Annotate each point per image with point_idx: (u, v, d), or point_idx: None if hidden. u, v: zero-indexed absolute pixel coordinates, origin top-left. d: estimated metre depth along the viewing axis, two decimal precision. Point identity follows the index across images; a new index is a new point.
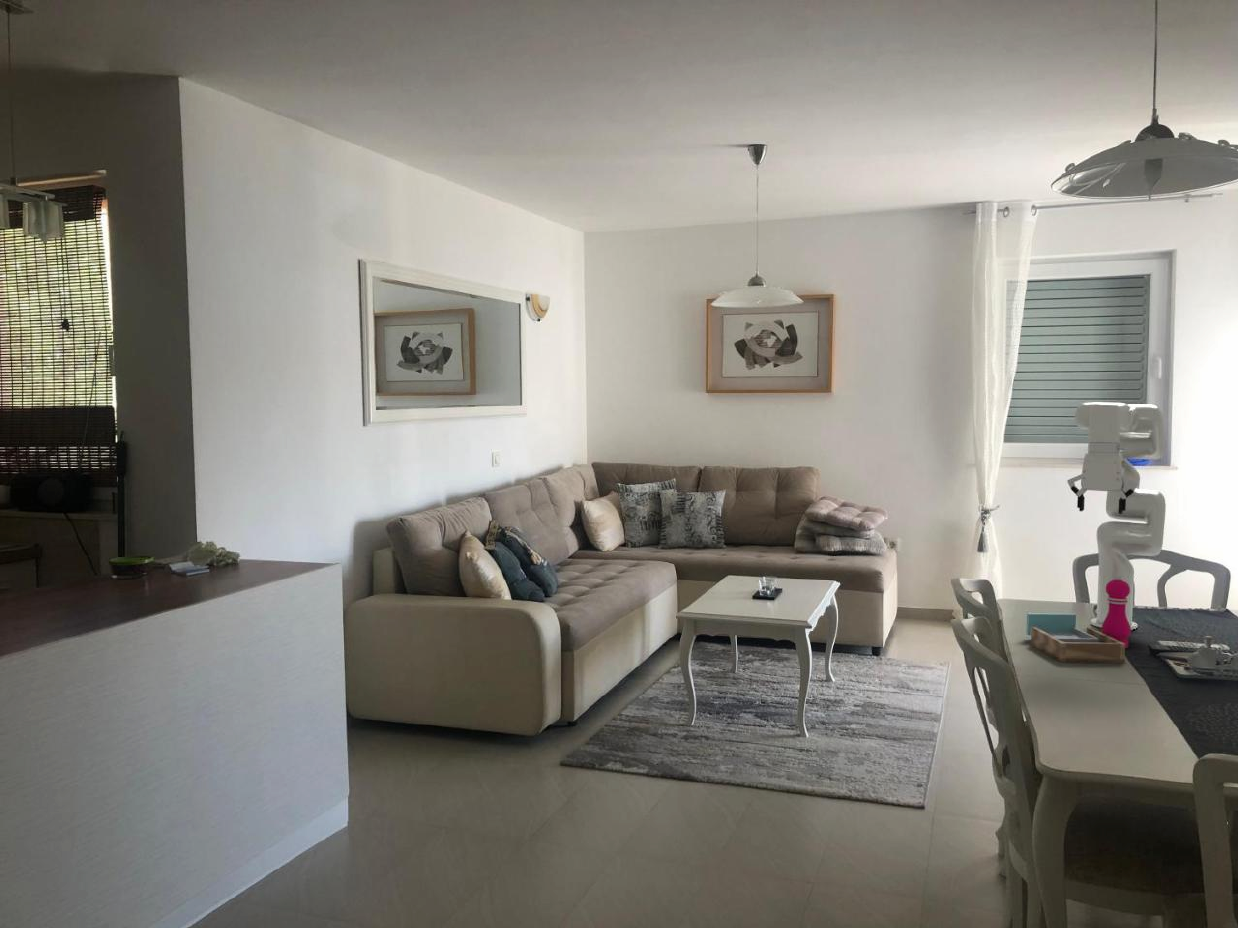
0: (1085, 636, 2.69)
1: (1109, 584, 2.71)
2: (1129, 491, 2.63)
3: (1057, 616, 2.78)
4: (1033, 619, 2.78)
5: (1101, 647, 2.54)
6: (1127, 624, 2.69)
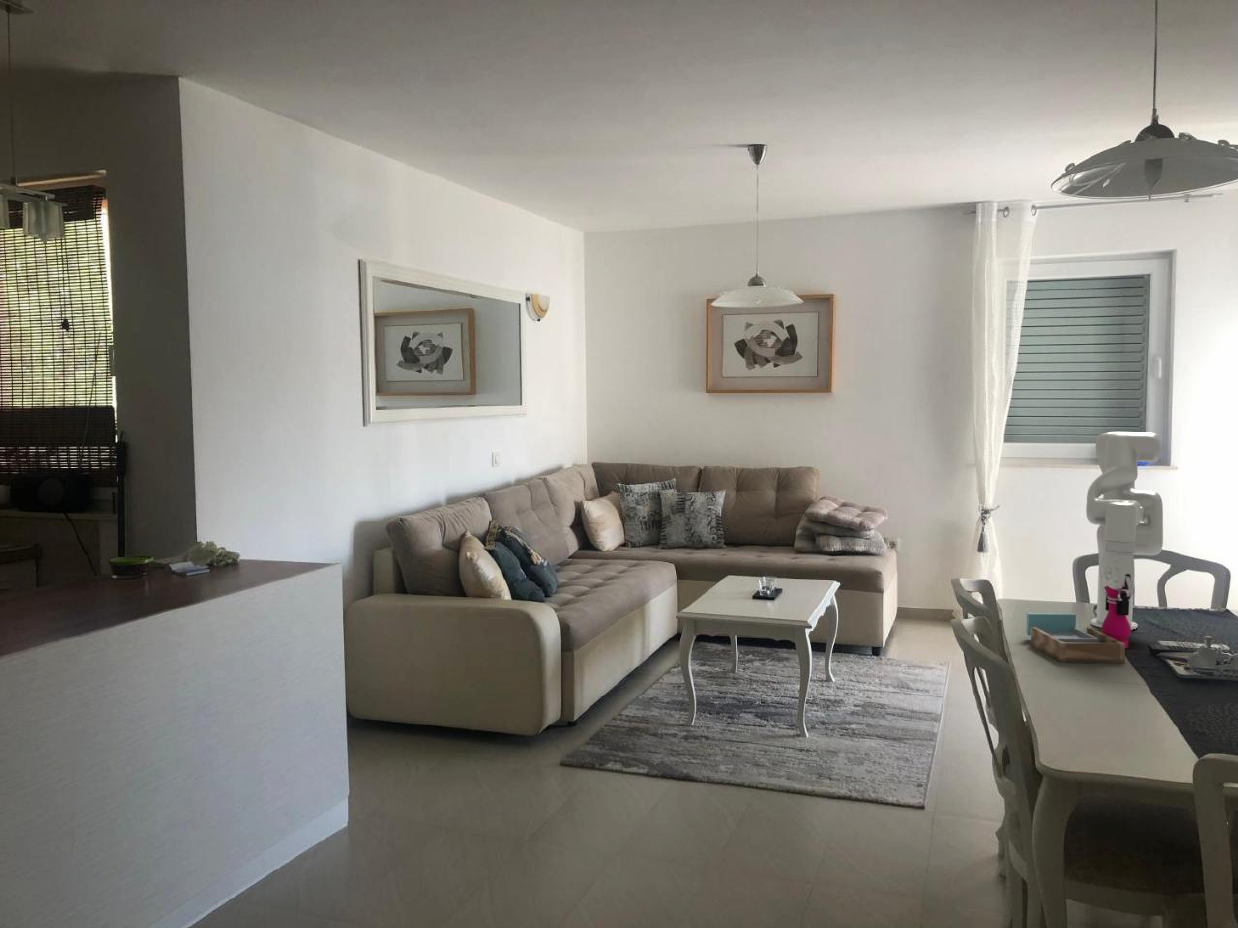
0: (1085, 636, 2.69)
1: None
2: None
3: (1057, 616, 2.78)
4: (1033, 619, 2.78)
5: (1101, 647, 2.54)
6: (1127, 624, 2.69)
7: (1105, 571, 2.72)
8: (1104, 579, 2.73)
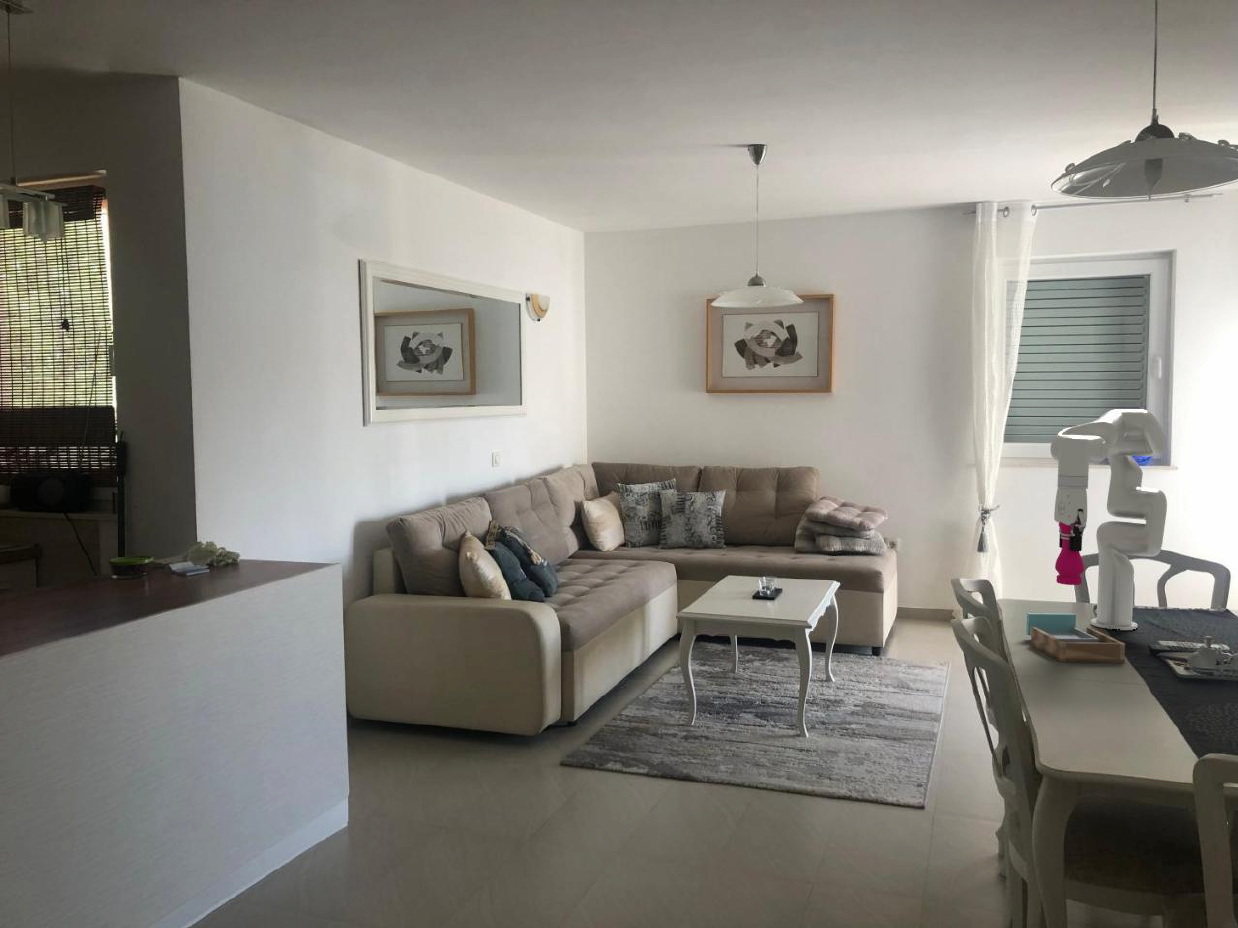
0: (1085, 636, 2.69)
1: None
2: None
3: (1057, 616, 2.78)
4: (1033, 619, 2.78)
5: (1101, 647, 2.54)
6: (1080, 560, 2.65)
7: (1058, 507, 2.68)
8: (1057, 515, 2.69)
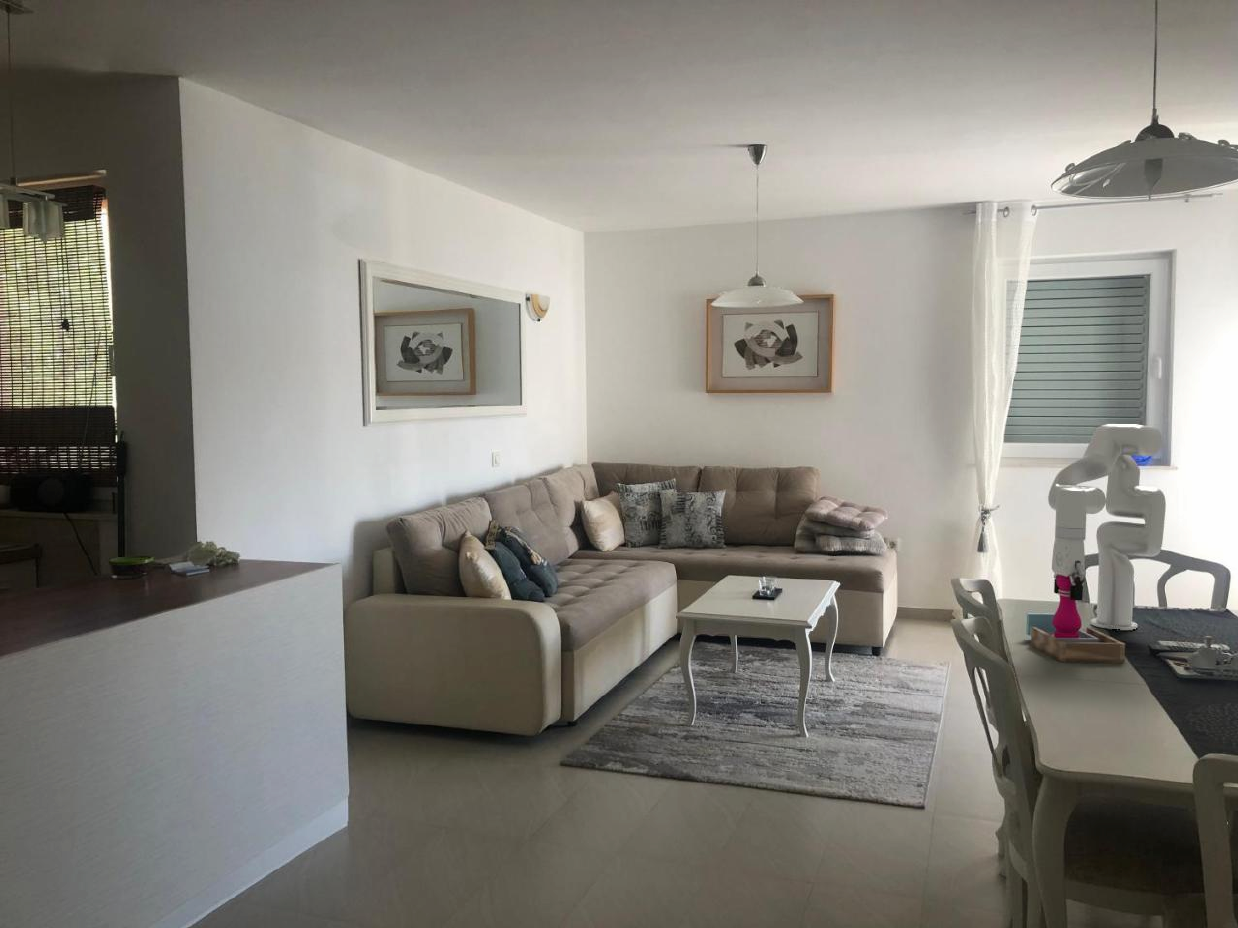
0: (1085, 636, 2.69)
1: (1059, 576, 2.68)
2: None
3: None
4: (1033, 619, 2.78)
5: (1101, 647, 2.54)
6: (1077, 617, 2.66)
7: (1056, 558, 2.69)
8: (1055, 566, 2.70)
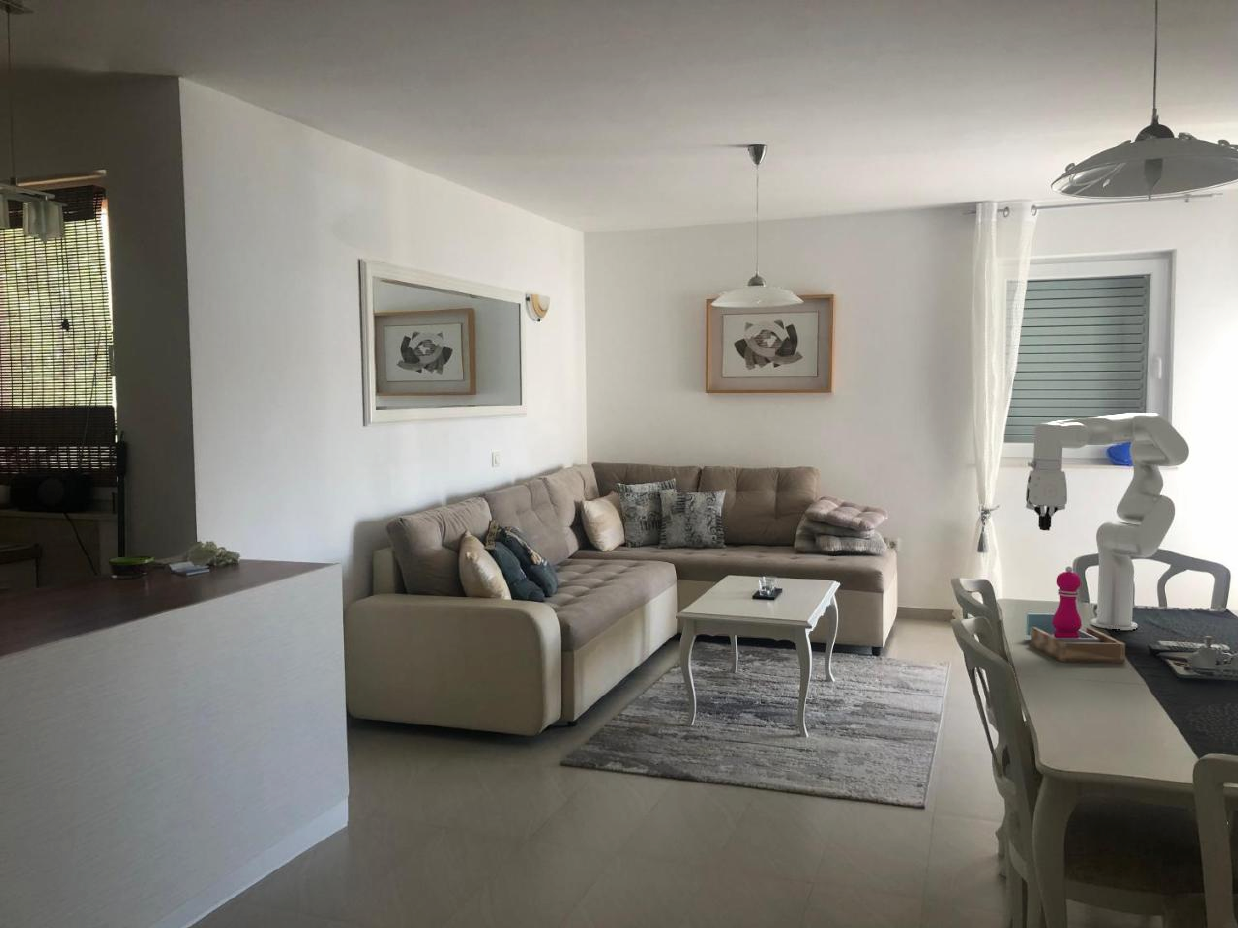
0: (1085, 636, 2.69)
1: (1059, 576, 2.68)
2: None
3: None
4: (1033, 619, 2.78)
5: (1101, 647, 2.54)
6: (1077, 617, 2.66)
7: (1044, 491, 2.80)
8: (1043, 499, 2.80)
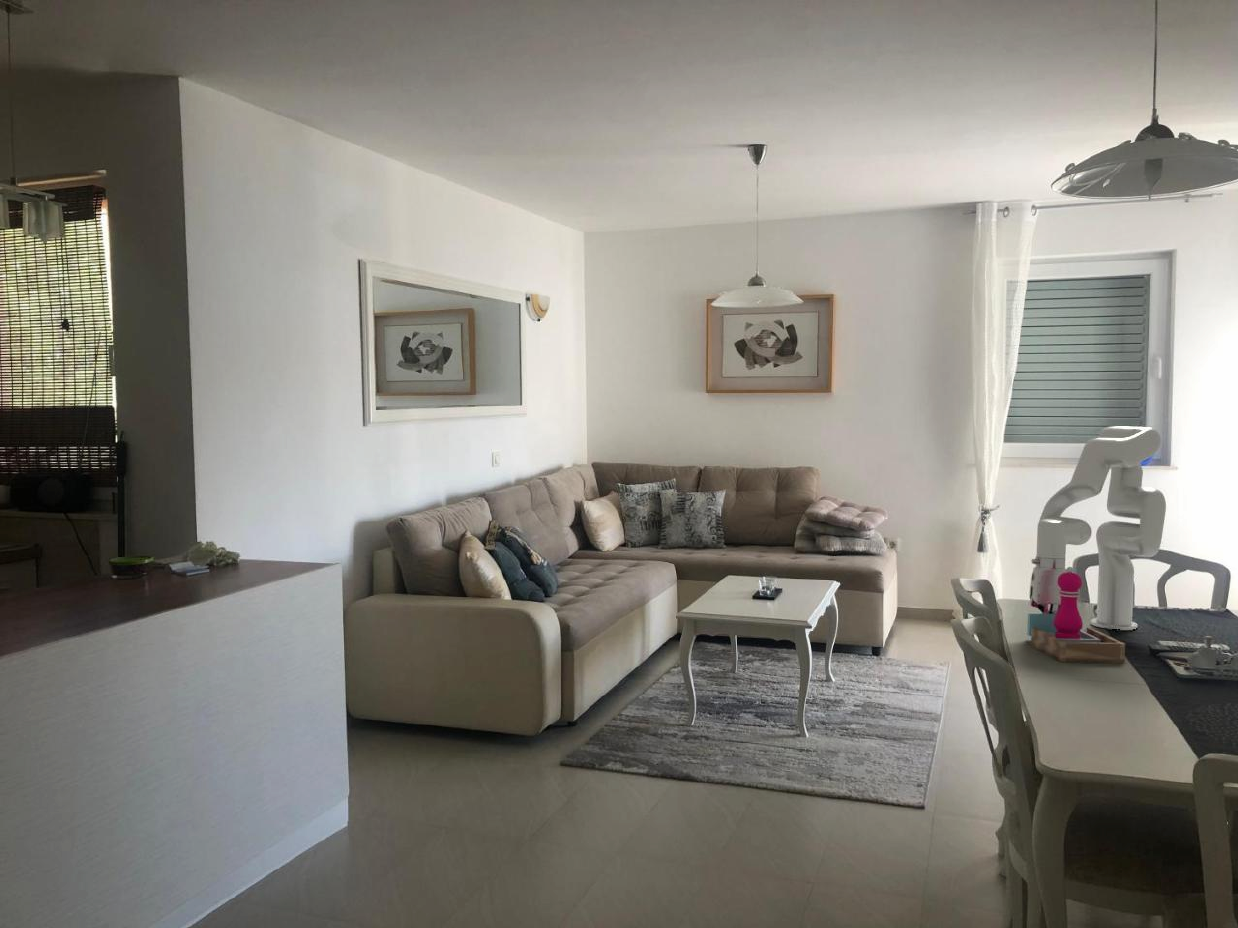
0: (1086, 637, 2.69)
1: (1060, 577, 2.67)
2: None
3: None
4: (1034, 620, 2.77)
5: (1101, 647, 2.54)
6: (1078, 617, 2.66)
7: (1048, 589, 2.77)
8: (1046, 597, 2.77)
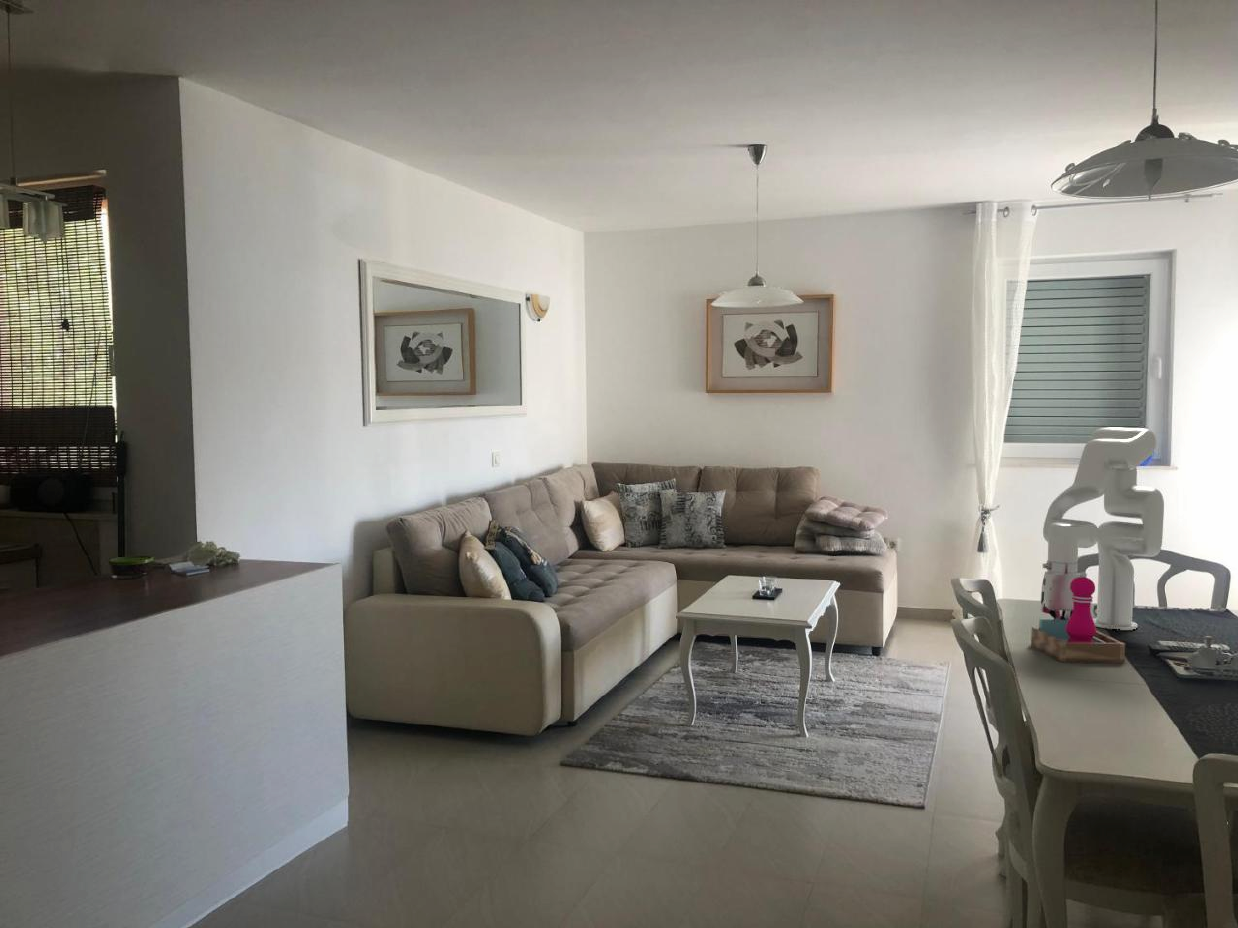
0: None
1: (1073, 582, 2.60)
2: None
3: None
4: (1046, 626, 2.69)
5: (1101, 647, 2.54)
6: (1092, 623, 2.58)
7: (1060, 594, 2.69)
8: (1058, 603, 2.69)
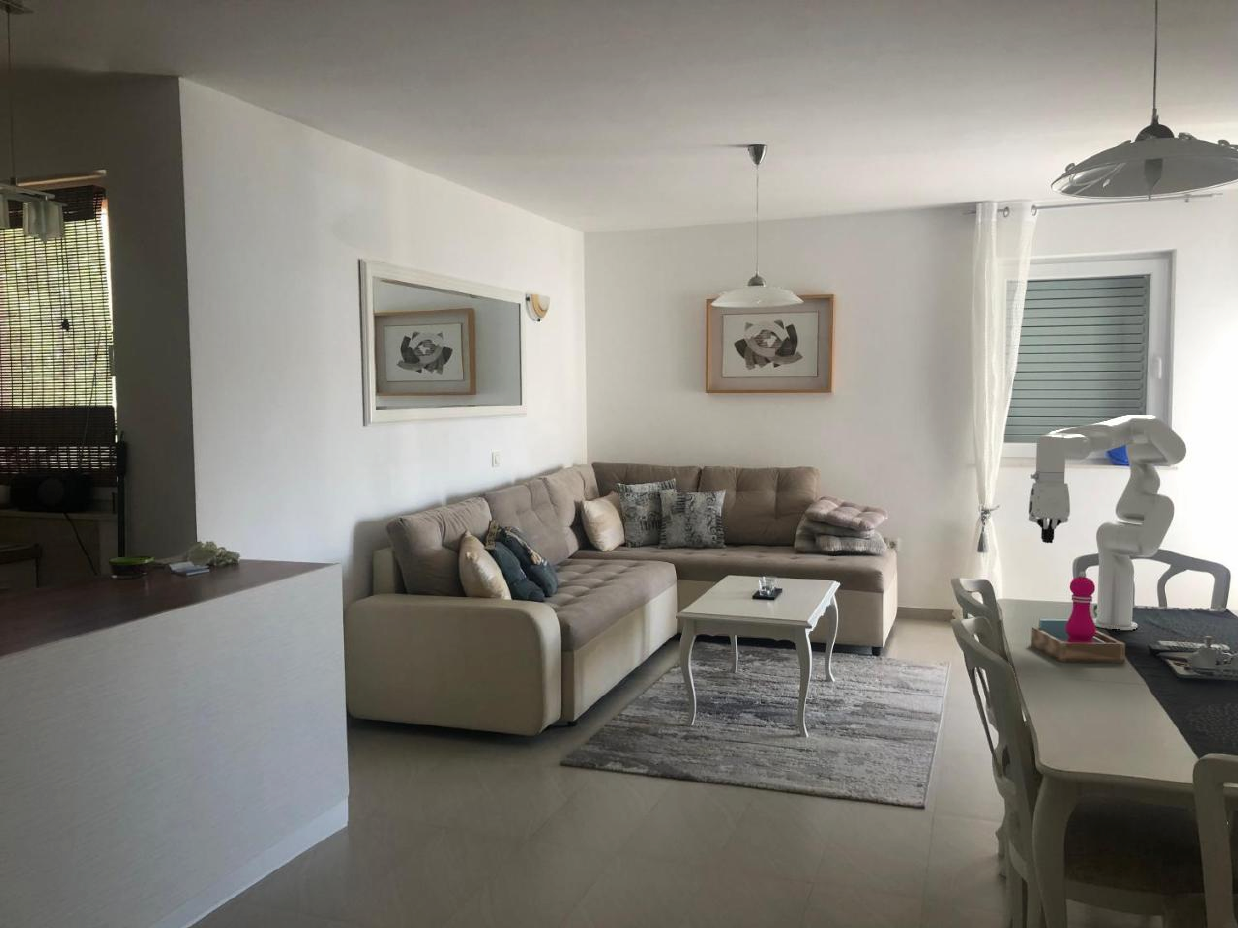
0: None
1: (1073, 582, 2.60)
2: None
3: None
4: (1045, 625, 2.70)
5: (1101, 647, 2.54)
6: (1091, 623, 2.58)
7: (1047, 503, 2.78)
8: (1045, 511, 2.78)
